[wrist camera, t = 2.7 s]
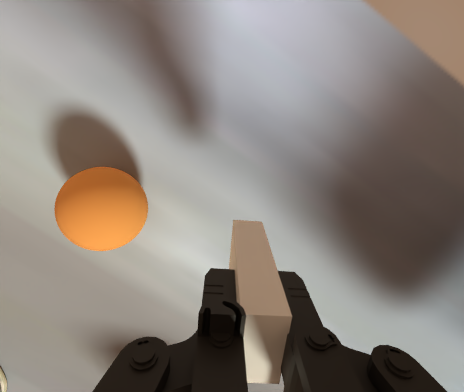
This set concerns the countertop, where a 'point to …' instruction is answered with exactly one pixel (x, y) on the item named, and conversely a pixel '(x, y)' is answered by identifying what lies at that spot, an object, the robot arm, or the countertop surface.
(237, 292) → the robot arm
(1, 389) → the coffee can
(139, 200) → the ball
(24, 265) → the countertop surface
